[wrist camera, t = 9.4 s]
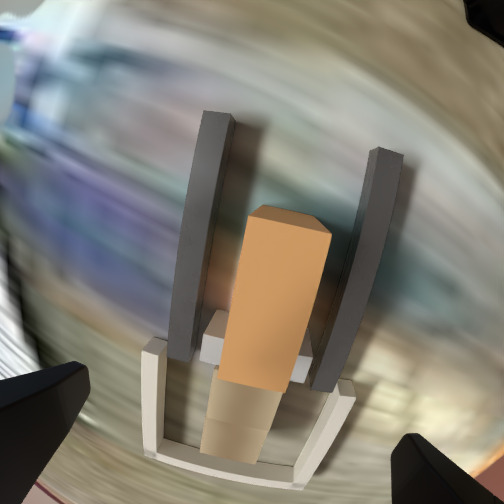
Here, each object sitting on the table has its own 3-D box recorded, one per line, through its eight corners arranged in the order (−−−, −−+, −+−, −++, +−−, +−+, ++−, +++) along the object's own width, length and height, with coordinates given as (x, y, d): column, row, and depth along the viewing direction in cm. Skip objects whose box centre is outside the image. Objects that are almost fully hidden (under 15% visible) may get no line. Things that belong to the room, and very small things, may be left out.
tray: (351, 380, 19) (356, 397, 17) (302, 474, 22) (302, 490, 20) (153, 336, 20) (141, 350, 18) (151, 441, 23) (144, 455, 21)
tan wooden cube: (271, 393, 20) (268, 430, 16) (260, 428, 21) (255, 464, 17) (217, 381, 20) (205, 416, 16) (211, 417, 21) (199, 452, 17)
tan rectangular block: (338, 221, 17) (371, 243, 10) (301, 352, 19) (306, 425, 12) (237, 199, 17) (207, 207, 11) (213, 333, 19) (180, 398, 13)
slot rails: (392, 157, 16) (403, 154, 14) (329, 377, 19) (332, 392, 17) (211, 117, 16) (203, 110, 15) (175, 343, 20) (166, 356, 18)
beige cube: (286, 349, 19) (285, 384, 15) (272, 393, 20) (269, 430, 16) (227, 336, 19) (214, 369, 16) (218, 381, 20) (206, 417, 16)
